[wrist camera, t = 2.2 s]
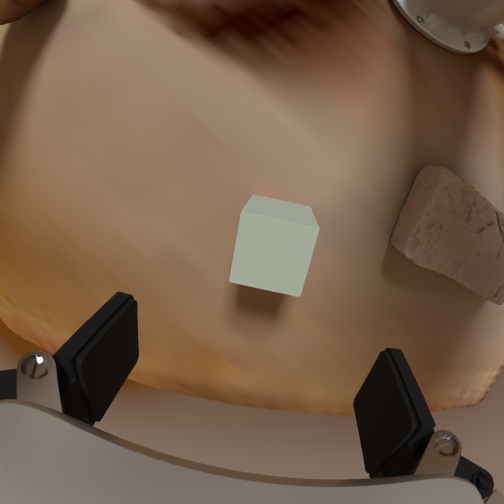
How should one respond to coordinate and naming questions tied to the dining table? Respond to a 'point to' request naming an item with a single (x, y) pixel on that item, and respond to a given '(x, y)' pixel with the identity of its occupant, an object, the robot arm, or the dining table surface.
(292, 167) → the dining table surface
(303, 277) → the block
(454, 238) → the brick
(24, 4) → the brown oblong lump
